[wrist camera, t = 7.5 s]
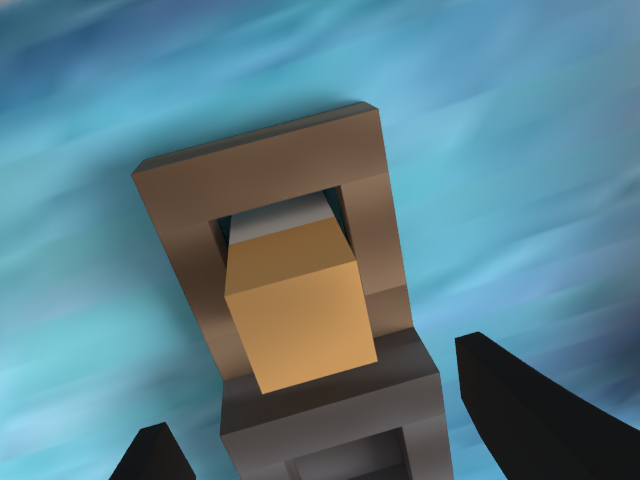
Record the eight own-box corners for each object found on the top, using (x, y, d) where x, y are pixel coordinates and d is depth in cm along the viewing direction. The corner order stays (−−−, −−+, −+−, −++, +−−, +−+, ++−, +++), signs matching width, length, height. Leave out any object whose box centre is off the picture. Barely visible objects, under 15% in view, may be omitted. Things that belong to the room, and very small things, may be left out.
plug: (340, 268, 20) (377, 361, 14) (258, 291, 20) (262, 394, 14) (322, 190, 18) (356, 260, 13) (231, 214, 18) (224, 296, 12)
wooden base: (422, 435, 26) (459, 517, 21) (279, 477, 26) (285, 570, 21) (364, 101, 17) (406, 123, 13) (143, 159, 17) (105, 204, 12)
